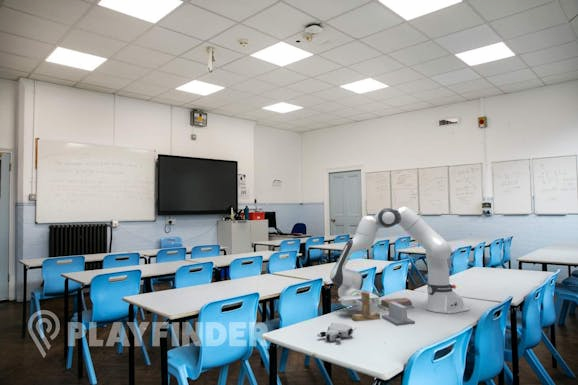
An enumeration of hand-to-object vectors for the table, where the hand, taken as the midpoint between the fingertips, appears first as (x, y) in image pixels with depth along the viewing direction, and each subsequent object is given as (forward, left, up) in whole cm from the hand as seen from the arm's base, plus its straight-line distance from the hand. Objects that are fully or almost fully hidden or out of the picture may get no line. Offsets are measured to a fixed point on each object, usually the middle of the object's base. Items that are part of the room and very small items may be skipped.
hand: (366, 303), depth 197 cm
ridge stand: (-14, +6, -8) cm, 17 cm away
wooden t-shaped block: (0, -1, -8) cm, 8 cm away
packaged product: (-27, -18, -9) cm, 34 cm away
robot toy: (+25, +21, -9) cm, 34 cm away
